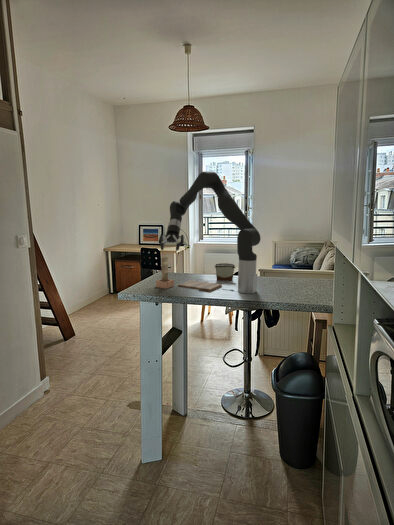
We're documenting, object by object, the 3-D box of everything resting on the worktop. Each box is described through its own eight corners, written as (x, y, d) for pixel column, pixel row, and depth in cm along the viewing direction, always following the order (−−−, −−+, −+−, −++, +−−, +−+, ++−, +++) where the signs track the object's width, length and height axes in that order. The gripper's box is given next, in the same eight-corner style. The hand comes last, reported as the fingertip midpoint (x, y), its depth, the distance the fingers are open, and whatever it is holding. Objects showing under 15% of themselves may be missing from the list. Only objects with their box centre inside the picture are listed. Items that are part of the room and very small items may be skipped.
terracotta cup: (173, 286, 196) (173, 279, 195) (166, 289, 190) (166, 282, 189) (163, 285, 200) (163, 278, 199) (155, 287, 193) (155, 280, 193)
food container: (234, 279, 218) (235, 263, 216) (234, 281, 212) (235, 265, 210) (214, 278, 219) (215, 262, 217) (214, 280, 213) (214, 264, 211)
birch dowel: (169, 286, 195) (169, 257, 193) (165, 287, 192) (165, 258, 190) (164, 285, 197) (163, 256, 194) (160, 286, 194) (160, 257, 191)
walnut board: (221, 286, 198) (221, 284, 198) (210, 292, 186) (210, 289, 185) (190, 282, 207) (190, 280, 207) (177, 287, 195) (177, 284, 195)
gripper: (161, 223, 209) (156, 245, 200) (184, 224, 207) (180, 246, 198) (163, 232, 215) (158, 253, 206) (186, 232, 213) (182, 254, 204)
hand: (169, 249), depth 202 cm, fingers open, 8 cm apart
